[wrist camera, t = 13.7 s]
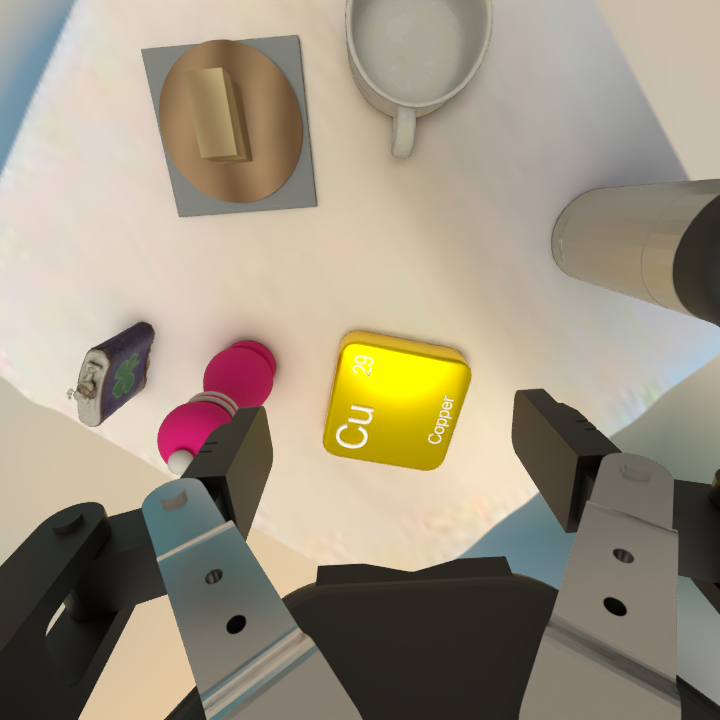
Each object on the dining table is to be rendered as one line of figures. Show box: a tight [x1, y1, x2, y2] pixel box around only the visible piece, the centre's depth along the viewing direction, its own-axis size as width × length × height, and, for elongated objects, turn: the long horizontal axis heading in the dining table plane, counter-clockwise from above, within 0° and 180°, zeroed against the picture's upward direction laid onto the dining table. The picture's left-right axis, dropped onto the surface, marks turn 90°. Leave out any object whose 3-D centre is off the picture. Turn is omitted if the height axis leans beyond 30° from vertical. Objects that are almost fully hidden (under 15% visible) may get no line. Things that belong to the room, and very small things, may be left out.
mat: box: [141, 35, 317, 217], centre depth 37 cm, size 14×14×1 cm
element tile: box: [323, 331, 471, 471], centre depth 46 cm, size 15×15×5 cm
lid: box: [159, 40, 303, 203], centre depth 34 cm, size 13×13×6 cm
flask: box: [67, 322, 155, 427], centre depth 41 cm, size 9×3×11 cm, turn 159°
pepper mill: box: [157, 341, 276, 475], centre depth 37 cm, size 7×7×20 cm
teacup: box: [345, 0, 493, 158], centre depth 32 cm, size 14×11×8 cm
